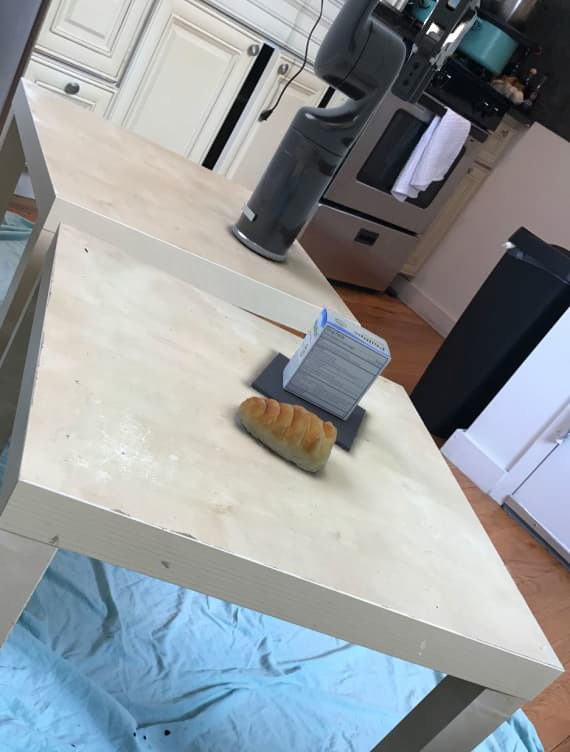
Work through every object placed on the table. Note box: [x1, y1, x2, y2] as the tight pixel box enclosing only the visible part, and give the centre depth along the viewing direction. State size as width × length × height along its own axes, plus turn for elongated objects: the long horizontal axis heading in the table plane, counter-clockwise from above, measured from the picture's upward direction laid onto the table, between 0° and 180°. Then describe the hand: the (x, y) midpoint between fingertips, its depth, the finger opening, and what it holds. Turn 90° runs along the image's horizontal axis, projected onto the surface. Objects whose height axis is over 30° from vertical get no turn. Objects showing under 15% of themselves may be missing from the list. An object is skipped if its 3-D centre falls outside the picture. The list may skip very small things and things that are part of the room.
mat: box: [250, 352, 367, 452], centre depth 81 cm, size 12×12×1 cm
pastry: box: [237, 396, 337, 473], centre depth 69 cm, size 9×7×4 cm
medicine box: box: [283, 307, 392, 420], centre depth 78 cm, size 8×4×9 cm, turn 84°
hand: (402, 99), depth 79 cm, fingers open, 8 cm apart
